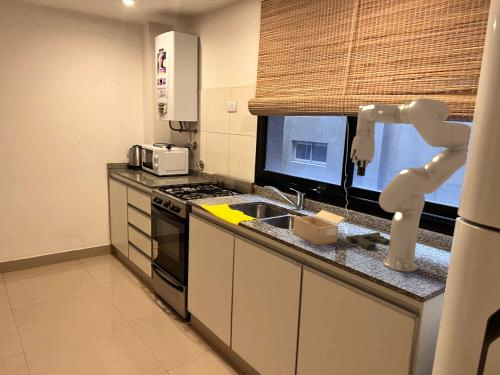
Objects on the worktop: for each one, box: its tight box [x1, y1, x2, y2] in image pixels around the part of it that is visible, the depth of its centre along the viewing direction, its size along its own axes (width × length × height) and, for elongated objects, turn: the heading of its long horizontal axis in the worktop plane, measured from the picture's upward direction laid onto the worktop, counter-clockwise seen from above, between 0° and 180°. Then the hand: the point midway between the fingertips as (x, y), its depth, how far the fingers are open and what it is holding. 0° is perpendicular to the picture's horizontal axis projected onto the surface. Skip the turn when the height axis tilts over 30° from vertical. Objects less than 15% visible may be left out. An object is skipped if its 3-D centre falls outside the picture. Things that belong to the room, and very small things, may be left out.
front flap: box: [287, 213, 317, 227], centre depth 170 cm, size 16×5×1 cm, turn 28°
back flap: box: [314, 209, 346, 226], centre depth 178 cm, size 16×5×1 cm, turn 28°
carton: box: [292, 215, 339, 246], centre depth 175 cm, size 19×12×8 cm, turn 28°
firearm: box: [346, 231, 390, 251], centre depth 174 cm, size 3×24×15 cm
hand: (360, 175), depth 163 cm, fingers closed
